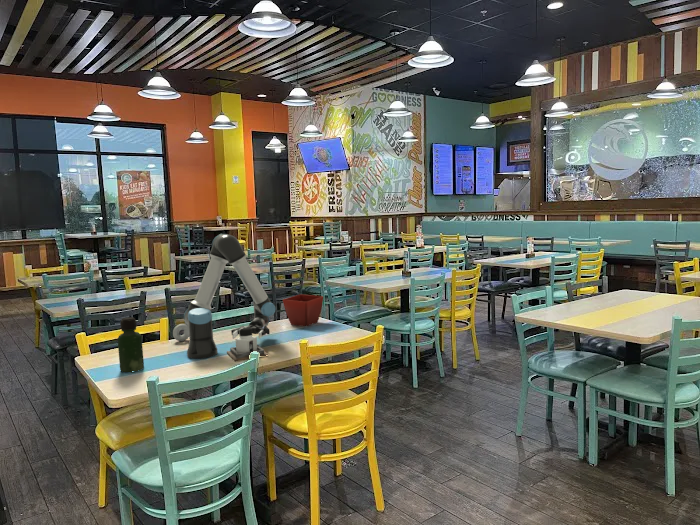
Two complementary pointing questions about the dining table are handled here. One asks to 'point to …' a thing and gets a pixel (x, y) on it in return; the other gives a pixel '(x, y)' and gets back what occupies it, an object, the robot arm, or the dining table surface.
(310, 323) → the plant pot
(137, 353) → the dark green bottle
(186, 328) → the donut
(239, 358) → the plate
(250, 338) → the container
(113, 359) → the dining table surface
